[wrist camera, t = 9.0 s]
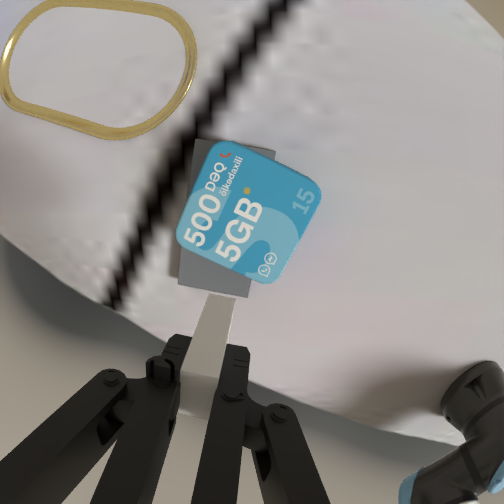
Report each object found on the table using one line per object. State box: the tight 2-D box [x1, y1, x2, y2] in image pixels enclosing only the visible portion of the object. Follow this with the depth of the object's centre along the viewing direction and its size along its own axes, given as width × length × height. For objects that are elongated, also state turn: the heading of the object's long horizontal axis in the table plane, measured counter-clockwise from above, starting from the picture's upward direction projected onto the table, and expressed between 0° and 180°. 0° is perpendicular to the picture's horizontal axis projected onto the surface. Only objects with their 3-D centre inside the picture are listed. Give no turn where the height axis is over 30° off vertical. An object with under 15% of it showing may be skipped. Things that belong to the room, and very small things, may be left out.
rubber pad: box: [178, 139, 276, 298], centre depth 37 cm, size 18×9×2 cm, turn 170°
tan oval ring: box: [0, 0, 197, 140], centre depth 30 cm, size 19×35×2 cm, turn 67°
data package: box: [175, 141, 321, 284], centre depth 33 cm, size 12×4×12 cm
